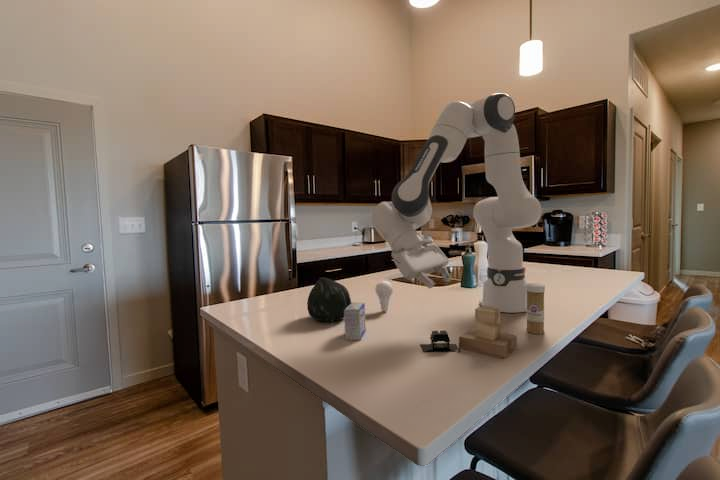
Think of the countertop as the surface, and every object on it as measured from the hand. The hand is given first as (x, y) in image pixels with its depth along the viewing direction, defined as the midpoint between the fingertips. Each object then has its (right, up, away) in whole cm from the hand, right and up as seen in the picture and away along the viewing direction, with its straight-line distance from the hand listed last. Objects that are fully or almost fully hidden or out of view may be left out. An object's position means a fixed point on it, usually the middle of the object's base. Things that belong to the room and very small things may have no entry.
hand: (441, 283), depth 96 cm
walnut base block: (+10, -15, -9) cm, 20 cm away
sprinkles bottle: (+27, -14, +2) cm, 30 cm away
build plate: (-2, -16, -8) cm, 18 cm away
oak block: (+10, -12, -9) cm, 18 cm away
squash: (-32, -15, +21) cm, 41 cm away
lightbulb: (-14, -14, +27) cm, 33 cm away
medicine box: (-24, -16, +4) cm, 29 cm away
